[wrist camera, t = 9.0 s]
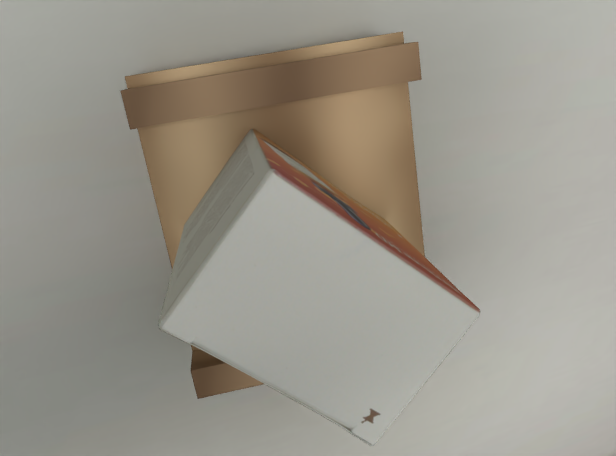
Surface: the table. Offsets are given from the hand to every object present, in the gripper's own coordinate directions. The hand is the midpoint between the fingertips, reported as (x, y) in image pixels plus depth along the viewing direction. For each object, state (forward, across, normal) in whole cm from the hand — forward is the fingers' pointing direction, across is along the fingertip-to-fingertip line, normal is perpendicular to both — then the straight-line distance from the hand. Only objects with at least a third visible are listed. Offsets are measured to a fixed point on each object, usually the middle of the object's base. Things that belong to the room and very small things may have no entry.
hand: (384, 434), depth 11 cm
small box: (+16, 0, 0) cm, 16 cm away
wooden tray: (+20, +1, 0) cm, 20 cm away
